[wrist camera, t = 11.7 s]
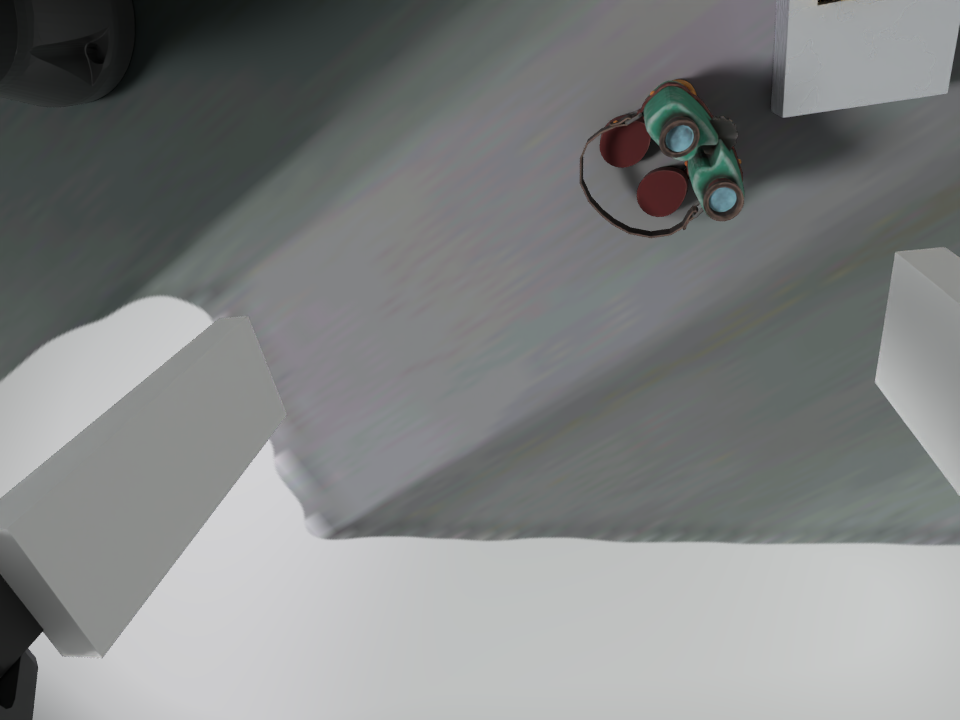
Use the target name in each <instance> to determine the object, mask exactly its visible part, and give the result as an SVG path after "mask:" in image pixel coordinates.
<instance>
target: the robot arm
mask: <svg viewBox="0 0 960 720" xmlns="http://www.w3.org/2000/svg"><path fill="white" fill-rule="evenodd" d="M134 39H135V19H134V9H133V3H132V0H0V97H2V98H6V99H10V100H15V101H19V102H23V103H28V104H32V105H37V106H43V107H66V106H73V105H78V104H84V103H88V102H92V101H95V100H97V99H99V98H101V97H103V96H105V95H106V94H108V93H109V92H110V91H112V90H113V89H114V88H115V87H116V86H117V84H118V83H119V82H120V81H121V79H122V78H123V76H124V74H125V72H126V70H127V68H128V66H129V63H130V60H131V57H132V52H133V47H134ZM875 383H876V385H877V386H878V387H879V389H880V390H881V391H882V393H883V394H884V395H885V397H886V398H887V399H888V401H889V402H890V403H891V405H892V406H893V407H894V409H895V410H896V411H897V413H898V414H899V415H900V417H901V418H902V419H903V421H904V422H905V423H906V425H907V426H908V427H909V429H910V430H911V431H912V433H913V434H914V435H915V437H916V438H917V439H918V441H919V442H920V443H921V445H922V446H923V448H924V449H925V450H926V452H927V453H928V454H929V456H930V457H931V458H932V460H933V461H934V462H935V464H936V465H937V466H938V468H939V469H940V470H941V472H942V473H943V474H944V476H945V477H946V478H947V480H948V481H949V482H950V484H951V485H952V486H953V488H954V489H955V490H956V492H957V493H958V494H959V496H960V257H958V256H957V255H955V254H954V253H952V252H951V251H949V250H948V249H946V248H945V247H940V248H930V249H920V250H909V251H899V252H895V258H894V264H893V271H892V277H891V283H890V290H889V296H888V302H887V309H886V315H885V321H884V328H883V334H882V340H881V347H880V353H879V359H878V366H877V372H876V378H875ZM286 416H287V414H286V411H285V409H284V406H283V404H282V401H281V398H280V396H279V393H278V391H277V388H276V386H275V383H274V381H273V378H272V375H271V373H270V370H269V368H268V365H267V363H266V360H265V358H264V355H263V353H262V350H261V347H260V345H259V342H258V340H257V337H256V335H255V332H254V330H253V327H252V324H251V322H250V319H249V317H248V316H241V317H230V318H220V319H218V320H217V321H215V322H214V323H213V324H212V325H210V326H209V327H208V328H207V329H206V330H204V331H203V332H202V333H201V334H200V335H198V336H197V337H196V338H195V339H193V340H192V341H191V342H190V343H189V344H188V345H186V346H185V347H184V348H183V349H181V350H180V351H179V352H178V353H176V354H175V355H174V356H173V357H172V358H171V359H169V360H168V361H167V362H166V363H164V364H163V365H162V366H161V367H160V368H158V369H157V370H156V371H155V372H153V373H152V374H151V375H150V376H149V377H147V378H146V379H145V380H144V381H143V382H141V383H140V384H139V385H138V386H136V387H135V388H134V389H133V390H132V391H130V392H129V393H128V394H127V395H125V396H124V397H123V398H122V399H121V400H119V401H118V402H117V403H116V404H114V405H113V406H112V407H111V408H110V409H108V410H107V411H106V412H105V413H104V414H102V415H101V416H100V417H99V418H97V419H96V420H95V421H94V422H93V423H92V424H90V425H89V426H88V427H87V428H85V429H84V430H83V431H82V432H80V433H79V434H78V435H77V436H76V437H75V438H73V439H72V440H71V441H70V442H68V443H67V444H66V445H65V446H63V447H62V448H61V449H60V450H59V451H57V452H56V453H55V454H54V455H53V456H51V457H50V458H49V459H48V460H46V461H45V462H44V463H43V464H42V465H40V466H39V467H38V468H37V469H35V470H34V471H33V472H32V473H31V474H29V475H28V476H27V477H26V478H25V479H24V480H22V481H21V482H20V483H18V484H17V485H16V486H15V487H14V488H12V489H11V490H10V491H9V492H8V493H6V494H5V495H4V496H3V497H1V498H0V720H32V718H33V709H34V700H35V690H36V681H37V672H38V665H37V661H36V658H35V656H34V655H33V654H32V653H31V651H30V650H29V649H28V647H29V646H30V645H31V644H32V643H33V642H34V641H35V639H36V638H37V637H38V636H39V635H40V633H42V632H44V633H45V635H46V636H47V637H48V639H49V640H50V641H51V643H52V644H53V645H54V646H55V648H56V649H57V650H58V651H59V653H60V654H61V655H62V656H65V657H66V656H68V657H87V658H103V657H104V655H105V654H106V653H107V651H108V650H109V649H110V647H111V646H112V645H113V643H114V642H115V641H116V640H117V638H118V637H119V635H120V634H121V633H122V632H123V630H124V629H125V628H126V626H127V625H128V624H129V622H130V621H131V620H132V618H133V617H134V616H135V614H136V613H137V612H138V610H139V609H140V608H141V607H142V605H143V604H144V603H145V601H146V600H147V599H148V597H149V596H150V595H151V593H152V592H153V591H154V590H155V588H156V587H157V585H158V584H159V583H160V582H161V580H162V579H163V578H164V576H165V575H166V574H167V572H168V571H169V570H170V568H171V567H172V566H173V564H174V563H175V562H176V560H177V559H178V558H179V557H180V555H181V554H182V553H183V551H184V550H185V549H186V547H187V546H188V545H189V543H190V542H191V541H192V539H193V538H194V537H195V535H196V534H197V533H198V532H199V530H200V529H201V528H202V526H203V525H204V523H205V522H206V521H207V520H208V518H209V517H210V516H211V514H212V513H213V512H214V511H215V509H216V508H217V506H218V505H219V504H220V503H221V501H222V500H223V498H224V497H225V496H226V495H227V493H228V492H229V491H230V489H231V488H232V487H233V485H234V484H235V483H236V481H237V480H238V479H239V478H240V476H241V475H242V474H243V472H244V471H245V470H246V468H247V467H248V465H249V464H250V463H251V462H252V460H253V459H254V458H255V457H256V455H257V454H258V453H259V451H260V450H261V449H262V447H263V446H264V445H265V443H266V442H267V441H268V439H269V438H270V437H271V435H272V434H273V433H274V432H275V430H276V429H277V428H278V426H279V425H280V424H281V422H282V421H283V420H284V418H285V417H286Z"/></svg>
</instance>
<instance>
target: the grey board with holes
mask: <svg viewBox="0 0 960 720" xmlns="http://www.w3.org/2000/svg"><path fill="white" fill-rule="evenodd" d="M959 25H960V0H830V1H825V2H820V3H818V0H776V18H775V38H774V58H773V78H772V98H771V111H772V112H773V113H775V114H777V115H779V116H780V117H782V118H785V117H792V116H799V115H805V114H812V113H819V112H826V111H832V110H839V109H846V108H852V107H859V106H866V105H873V104H879V103H886V102H893V101H899V100H906V99H913V98H920V97H926V96H933V95H940V94H947V93H948V87H949V82H950V76H951V70H952V65H953V59H954V53H955V48H956V42H957V37H958V31H959Z"/></svg>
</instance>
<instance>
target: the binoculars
mask: <svg viewBox="0 0 960 720" xmlns="http://www.w3.org/2000/svg"><path fill="white" fill-rule="evenodd" d="M643 110H644V114H643ZM636 114H637V115H636ZM736 129H737V127H736V125H735V124H733V123H732V120H731V119H729V118H728V119H726V118H724V116H720V117H719V118H716V117H713V116H712V114H711V112H710V111H709V109H708V108H707V106H706V105H705V103H704V102H703V101H702V100H701V99H700V98H699V97H697V94H696V92H695V89H694V88H693V86H692V85H691V84H690V83H689V82H687V81H685V80H680V79H679V80H672V81H666V82H664V83H662V84H661V85H659V86H658V87H657V88H656V89H655V90H654V91H652V92H651V93H650V95H649V96H648V97H647V98H646V100H645V102H644V103H643V105H642V108H641V109H639V110H637V111H635V112H633V113H631V114H627V115H622V116H619V117H616V118H614V119H612V120H611V121H610V122H609V123H607V125H606V126H605V127H604V128H602V129H600V130H599V131H598V132H597V133H595V134H594V135H593V136H592V137H590V138H589V139H588V141H587V143H586V145H585V148H584V150H583V153H582V155H581V157H580V185H581V187H582V189H583V191H584V193H585V195H586V197H587V200H588V202H589V203H590V204H591V205H592V206H593V207H594V208H595V210H596V211H597V212H598V213H599V214H600V215H601V216H602V217H603V218H605V219H606V220H607V221H608V222H610V223H611V224H612V225H614V226H615V227H617V228H619V229H621V230H623V231H625V232H627V233H628V234H632V235H637V236H643V237H648V238H655V237H662V236H669V235H672V234H674V233H675V232H677V231H679V230H681V229H682V228H683V230H685V229H686V226H687V224H688V223H689V221H691V220H692V219H694V218H696V217H698V216H699V215H700V214H701V213H702V212H703V211H704V212H705V213H706V214H707V216H708V217H710V218H712V219H714V220H716V221H727V220H730V219H732V218H734V217H735V216H737V215H738V214H739V212H740V211H741V209H742V207H743V204H744V187H743V172H742V169H741V166H740V164H741V160H740V159H738V157H737V154H736V151H735V148H734V146H733V145H735V144H736V138H737V137H738V132H737V131H736ZM601 133H602V134H601ZM600 134H601V140H600V152H601V155H602V156H603V158H604V160H605V161H606V162H607V163H609V164H611V165H612V166H615V167H621V168H623V167H629V166H632V165H634V164H636V163H637V162H638V161H640V160H641V159H642V157H643V156H644V155H645V153H646V151H647V150H648V147H649V144H650V139H651V138H652V139H653V140H654V141H655V142H656V143H657V144H658V145H659V146H660V149H661V151H662V152H663V153H664V154H665V155H667V156H668V157H672V158H674V159H676V160H680V161H685V166H687V168H686V169H684V170H683V171H682V170H680V169H678V168H674V167H662V168H658V169H654V170H653V171H651V172H649V173H648V174H647V175H646V176H645V177H644V179H643V180H642V181H641V183H640V184H639V187H638V190H637V200H638V204H639V205H640V207H641V208H642V210H643V211H644V212H646V213H647V214H649V215H651V216H655V217H663V216H667V215H669V214H671V213H673V212H674V211H676V210H677V209H678V207H679V206H680V205H681V203H682V202H683V200H684V198H685V195H686V193H687V190H688V179H689V178H690V180H691V183H692V187H693V190H694V192H695V194H696V196H697V198H698V200H699V201H698V202H697V203H695V204H694V205H693V206H692V207H691V208H690V210H689V211H688V212H687V214H686V216H685V218H684V219H683V221H682V222H681V223H679V224H677V225H675V226H674V227H672V228H670V229H664V230H657V231H646V230H641V229H636V228H631V227H629V226H627V225H625V224H623V223H621V222H619V221H617V220H616V219H614V218H613V217H612V216H610V215H609V214H608V213H607V212H605V211H604V210H603V209H602V208H601V207H600V206H599V205H598V203H597V202H596V201H595V200H594V199H593V198H592V197H591V195H590V193H589V191H588V188H587V186H586V184H585V182H584V180H583V154H584V152H585V150H586V147H587V145H588V144H589V143H590V142H591V141H592V140H594V139H595V138H596V137H597V136H599V135H600ZM699 204H701V206H702V208H701V209H700V210H699V211H698V208H697V206H698V205H699Z"/></svg>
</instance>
